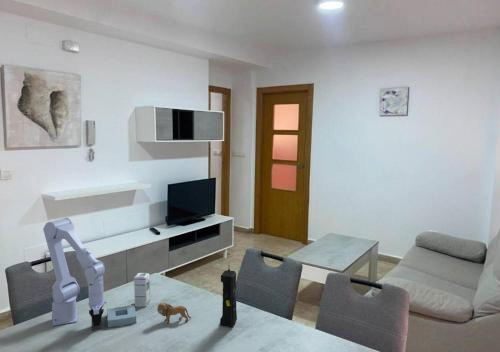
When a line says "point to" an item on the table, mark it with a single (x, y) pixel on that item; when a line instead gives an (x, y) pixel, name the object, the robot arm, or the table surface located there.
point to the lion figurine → (172, 311)
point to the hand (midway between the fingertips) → (96, 323)
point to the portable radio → (228, 299)
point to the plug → (97, 326)
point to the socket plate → (121, 316)
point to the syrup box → (142, 289)
